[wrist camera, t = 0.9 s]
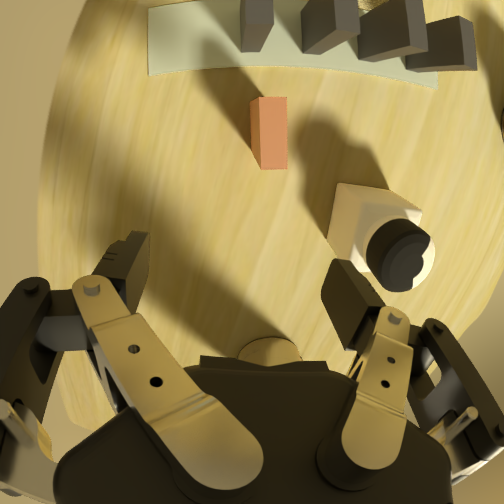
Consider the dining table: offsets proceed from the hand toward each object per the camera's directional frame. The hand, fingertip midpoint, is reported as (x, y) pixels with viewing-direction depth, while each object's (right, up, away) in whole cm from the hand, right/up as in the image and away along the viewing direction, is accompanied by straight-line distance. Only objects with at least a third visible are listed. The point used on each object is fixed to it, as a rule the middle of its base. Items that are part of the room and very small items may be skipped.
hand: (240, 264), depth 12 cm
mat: (+6, +22, +10) cm, 25 cm away
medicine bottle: (+13, +5, +20) cm, 24 cm away
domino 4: (+12, +23, +10) cm, 28 cm away
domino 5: (+18, +23, +10) cm, 31 cm away
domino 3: (+6, +22, +10) cm, 25 cm away
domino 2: (+1, +13, +15) cm, 20 cm away
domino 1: (0, +22, +10) cm, 24 cm away
